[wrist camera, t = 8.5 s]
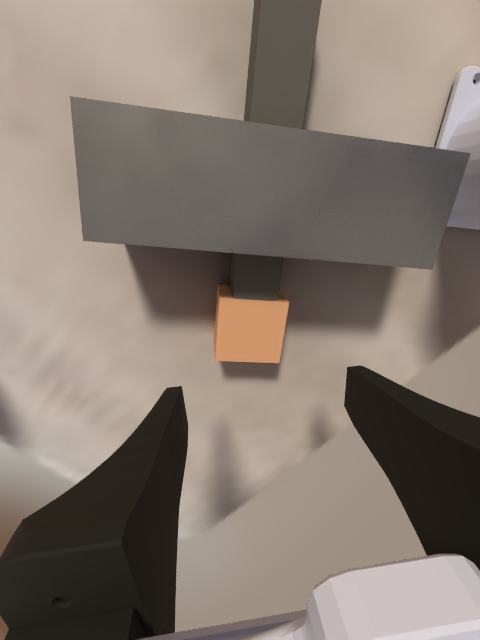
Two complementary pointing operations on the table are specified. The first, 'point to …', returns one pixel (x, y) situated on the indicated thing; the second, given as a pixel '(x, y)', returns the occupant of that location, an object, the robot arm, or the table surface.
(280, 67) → the grey orange long bar
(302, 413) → the table surface
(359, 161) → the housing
